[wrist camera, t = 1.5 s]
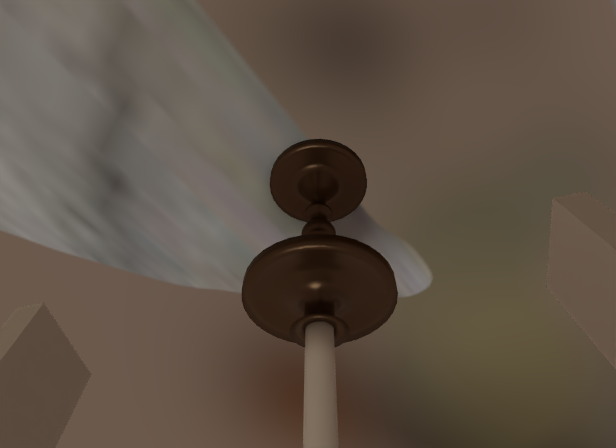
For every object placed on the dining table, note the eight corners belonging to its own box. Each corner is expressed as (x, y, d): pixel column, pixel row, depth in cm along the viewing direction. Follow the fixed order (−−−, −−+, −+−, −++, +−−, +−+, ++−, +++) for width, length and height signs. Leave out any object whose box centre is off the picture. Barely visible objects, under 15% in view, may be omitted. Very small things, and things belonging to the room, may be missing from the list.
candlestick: (240, 191, 42) (115, 769, 16) (303, 106, 36) (273, 802, 10) (329, 239, 46) (348, 763, 20) (399, 169, 40) (560, 784, 14)
